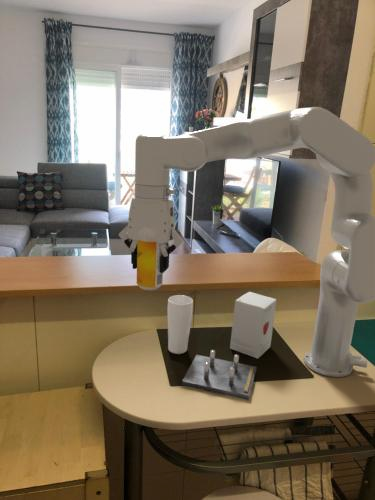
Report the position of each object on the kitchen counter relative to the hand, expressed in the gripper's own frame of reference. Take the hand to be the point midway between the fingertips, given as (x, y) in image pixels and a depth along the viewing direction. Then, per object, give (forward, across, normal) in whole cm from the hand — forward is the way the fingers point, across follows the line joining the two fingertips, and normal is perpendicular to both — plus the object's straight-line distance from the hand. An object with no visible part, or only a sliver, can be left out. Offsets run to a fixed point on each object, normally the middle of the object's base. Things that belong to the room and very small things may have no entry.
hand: (149, 268), depth 98 cm
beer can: (+5, 0, 0) cm, 5 cm away
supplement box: (+28, -23, -22) cm, 42 cm away
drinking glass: (+27, -4, -12) cm, 30 cm away
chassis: (+27, -18, -4) cm, 33 cm away
